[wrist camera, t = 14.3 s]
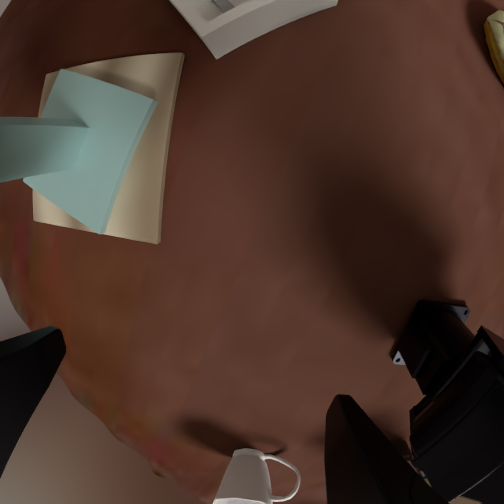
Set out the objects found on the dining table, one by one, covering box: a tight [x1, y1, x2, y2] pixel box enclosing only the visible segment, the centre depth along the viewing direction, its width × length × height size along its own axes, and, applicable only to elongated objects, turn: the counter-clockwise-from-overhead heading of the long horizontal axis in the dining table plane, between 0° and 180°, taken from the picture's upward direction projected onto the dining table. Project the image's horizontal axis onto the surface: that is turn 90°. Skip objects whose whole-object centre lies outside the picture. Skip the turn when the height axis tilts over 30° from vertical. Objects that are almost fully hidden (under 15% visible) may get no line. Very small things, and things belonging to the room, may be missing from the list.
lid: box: [0, 69, 158, 235], centre depth 12 cm, size 10×10×12 cm
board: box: [33, 53, 185, 244], centre depth 18 cm, size 14×14×1 cm
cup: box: [213, 448, 300, 504], centre depth 24 cm, size 7×10×8 cm
